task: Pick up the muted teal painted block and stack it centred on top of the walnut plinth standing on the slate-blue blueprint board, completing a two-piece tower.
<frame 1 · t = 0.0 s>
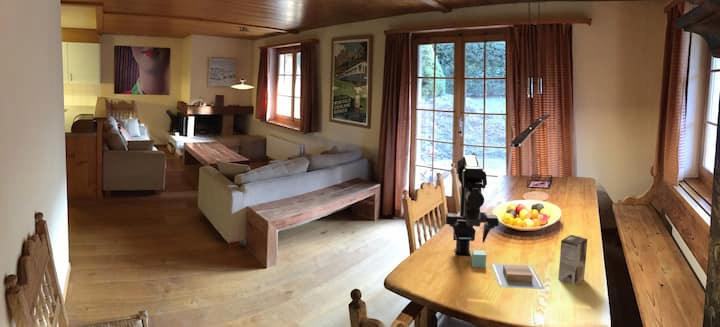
hand: (470, 242, 182), 15 cm above the table, fingers open, 9 cm apart
blueprint board: (515, 277, 187), on the table
plinth: (517, 277, 185), point 1 cm above the table, touching blueprint board
teal block: (478, 266, 197), on the table
coffee box: (570, 280, 185), on the table
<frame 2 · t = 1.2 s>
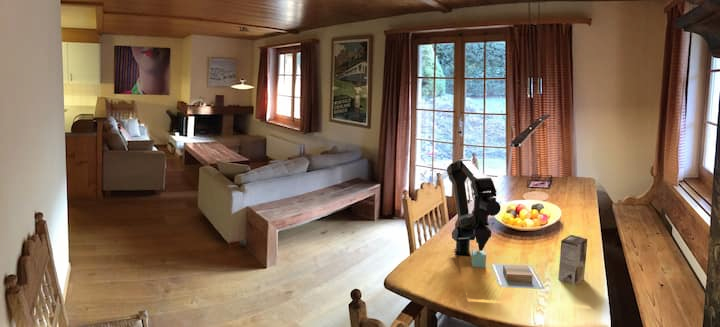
hand: (479, 246, 196), 8 cm above the table, fingers open, 9 cm apart
nothing on the table moved.
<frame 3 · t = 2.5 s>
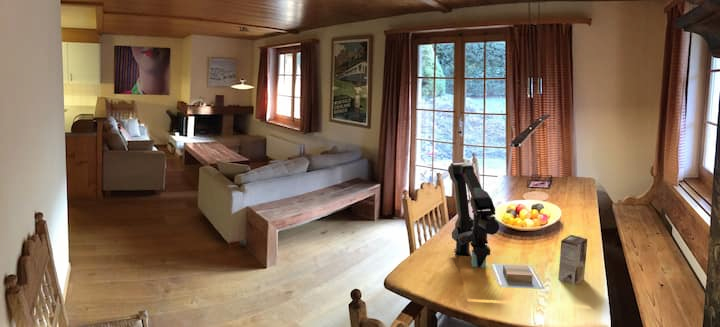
hand: (478, 264, 197), 1 cm above the table, fingers closed on teal block, 5 cm apart
teal block: (478, 266, 197), on the table, touching gripper
everything else where it was.
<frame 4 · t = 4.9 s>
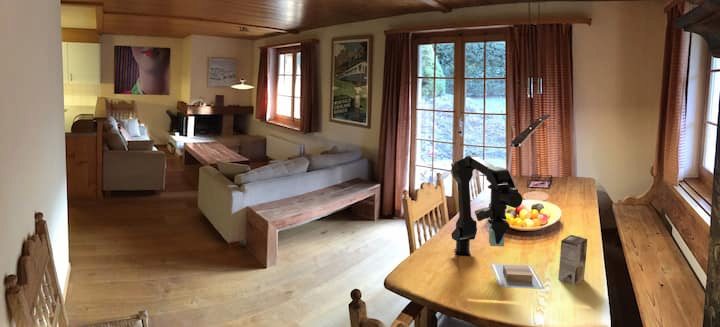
hand: (496, 241, 189), 13 cm above the table, fingers closed on teal block, 5 cm apart
teal block: (496, 244, 189), point 12 cm above the table, touching gripper
everything else where it was.
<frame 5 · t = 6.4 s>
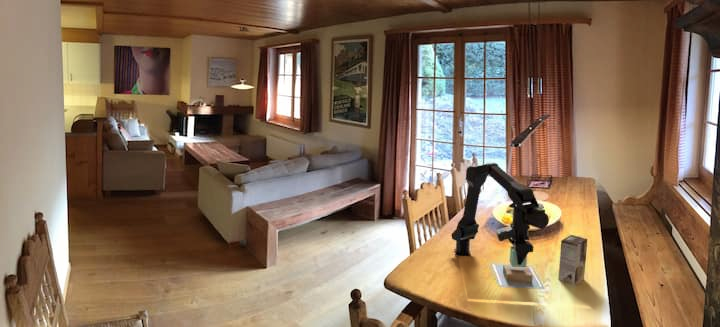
hand: (517, 261, 184), 7 cm above the table, fingers closed on teal block, 5 cm apart
teal block: (517, 264, 184), point 6 cm above the table, touching gripper
everything else where it was.
when the fingers open (6 cm above the table, at t = 7.3 s): teal block drops 1 cm, resting on plinth.
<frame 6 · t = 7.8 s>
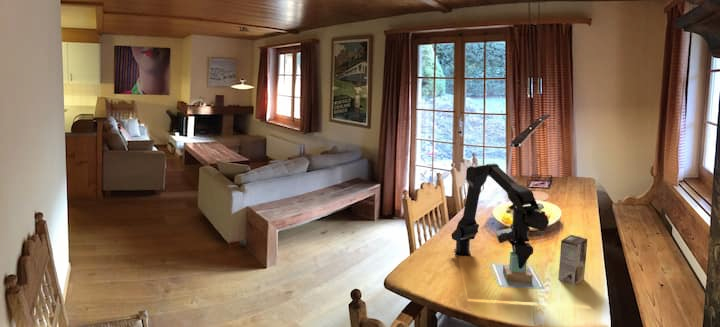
hand: (517, 263, 184), 6 cm above the table, fingers open, 9 cm apart
plinth: (517, 277, 185), point 1 cm above the table, touching blueprint board, teal block
teal block: (517, 269, 184), point 4 cm above the table, touching plinth
everything else where it was.
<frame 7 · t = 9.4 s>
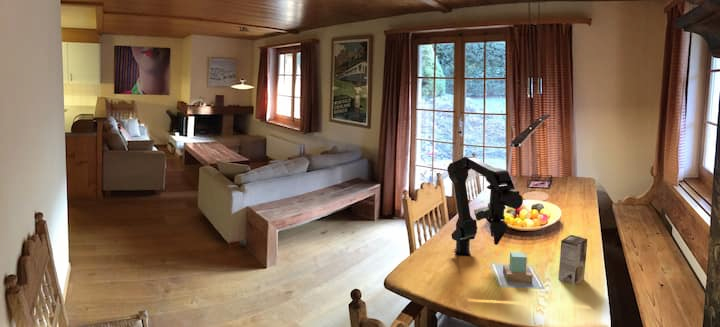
hand: (494, 240, 194), 11 cm above the table, fingers open, 9 cm apart
nothing on the table moved.
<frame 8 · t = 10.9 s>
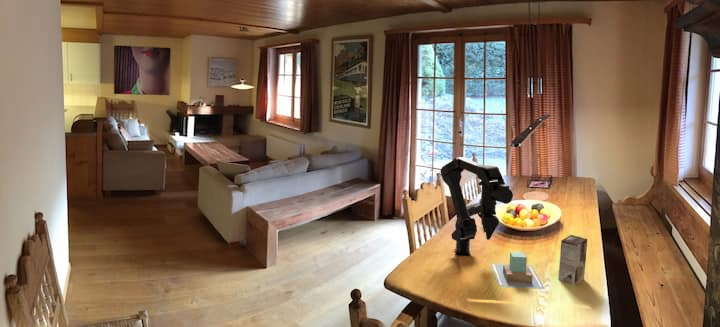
hand: (486, 235, 198), 12 cm above the table, fingers open, 9 cm apart
nothing on the table moved.
at the end: teal block 0.0 cm off-centre on the plinth, point 3.0 cm above the plinth's base; teal block tilted 0°; the gripper is holding nothing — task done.
